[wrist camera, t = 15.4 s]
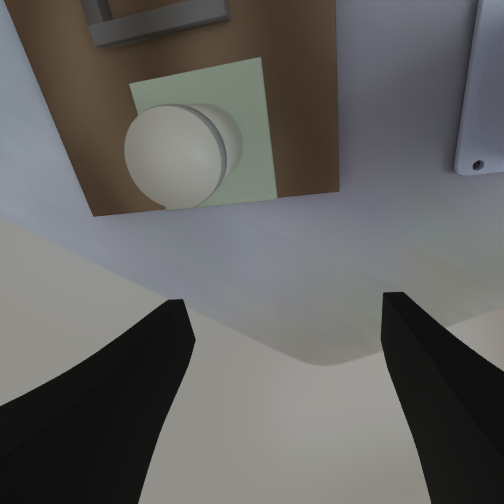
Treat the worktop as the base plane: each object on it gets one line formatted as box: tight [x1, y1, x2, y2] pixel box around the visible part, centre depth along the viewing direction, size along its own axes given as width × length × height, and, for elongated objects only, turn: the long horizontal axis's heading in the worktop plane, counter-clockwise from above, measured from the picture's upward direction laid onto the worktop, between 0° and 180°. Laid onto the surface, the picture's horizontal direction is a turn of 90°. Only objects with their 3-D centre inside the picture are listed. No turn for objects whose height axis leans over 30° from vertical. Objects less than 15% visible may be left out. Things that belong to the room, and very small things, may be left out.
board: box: [4, 0, 339, 217], centre depth 12 cm, size 16×19×6 cm
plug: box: [124, 103, 243, 209], centre depth 14 cm, size 4×4×5 cm
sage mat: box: [129, 57, 278, 211], centre depth 16 cm, size 7×7×1 cm
